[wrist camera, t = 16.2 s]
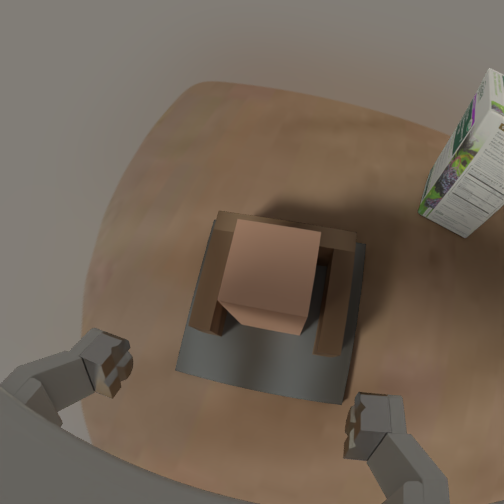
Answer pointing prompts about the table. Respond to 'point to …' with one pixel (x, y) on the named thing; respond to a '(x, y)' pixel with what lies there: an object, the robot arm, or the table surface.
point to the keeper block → (270, 276)
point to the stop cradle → (272, 342)
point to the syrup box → (470, 165)
